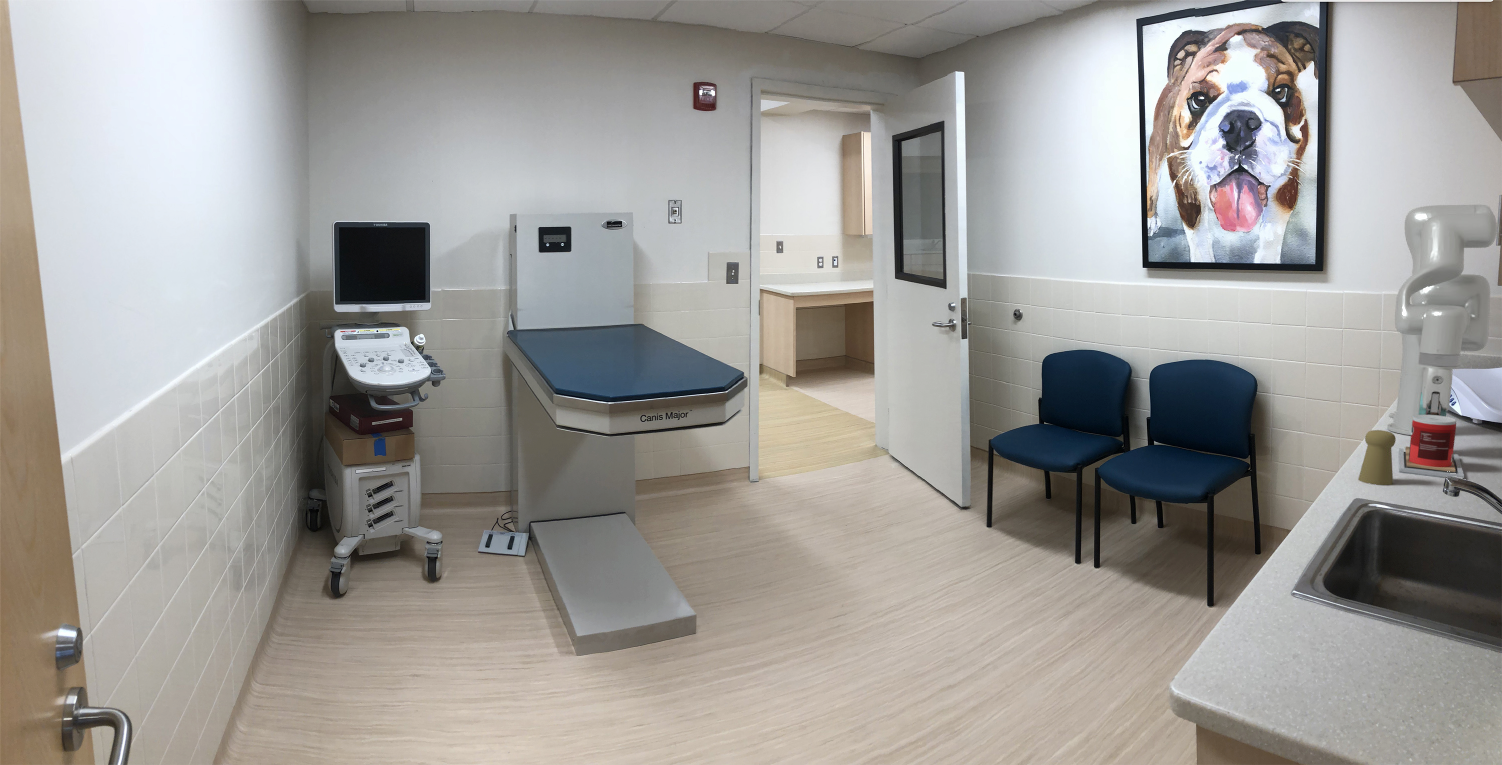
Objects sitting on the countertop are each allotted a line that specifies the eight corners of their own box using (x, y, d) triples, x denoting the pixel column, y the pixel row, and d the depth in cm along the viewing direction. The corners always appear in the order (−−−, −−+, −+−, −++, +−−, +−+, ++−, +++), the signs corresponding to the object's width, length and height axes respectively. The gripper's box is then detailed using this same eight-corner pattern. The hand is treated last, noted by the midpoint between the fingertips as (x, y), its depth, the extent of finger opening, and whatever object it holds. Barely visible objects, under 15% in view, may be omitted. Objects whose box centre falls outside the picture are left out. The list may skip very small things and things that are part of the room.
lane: (1463, 479, 183) (1464, 475, 183) (1399, 472, 189) (1399, 468, 189) (1457, 458, 200) (1457, 454, 200) (1398, 451, 207) (1399, 448, 207)
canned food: (1430, 460, 197) (1435, 413, 195) (1461, 469, 190) (1466, 421, 188) (1398, 461, 197) (1403, 415, 195) (1428, 471, 189) (1433, 422, 187)
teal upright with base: (1455, 472, 187) (1463, 409, 185) (1406, 466, 192) (1413, 405, 190) (1450, 452, 204) (1457, 394, 201) (1405, 447, 209) (1412, 391, 206)
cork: (1381, 486, 179) (1387, 435, 177) (1351, 479, 184) (1357, 429, 182) (1399, 483, 181) (1405, 432, 179) (1369, 476, 187) (1375, 426, 185)
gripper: (1461, 366, 193) (1451, 445, 196) (1457, 357, 206) (1447, 432, 209) (1419, 363, 197) (1410, 441, 200) (1417, 355, 210) (1409, 428, 213)
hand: (1429, 436), depth 204 cm, fingers open, 3 cm apart
